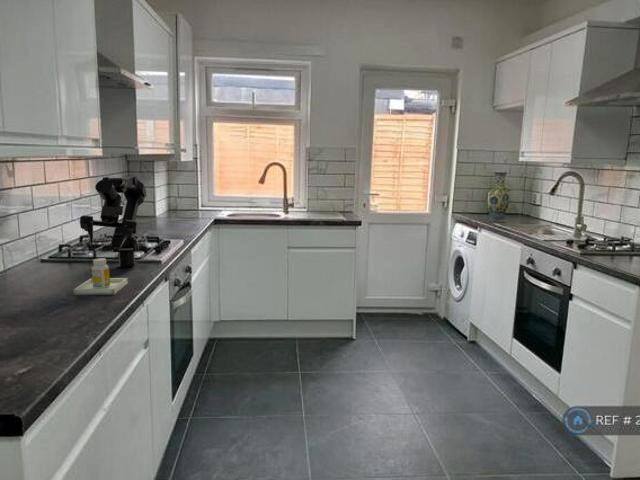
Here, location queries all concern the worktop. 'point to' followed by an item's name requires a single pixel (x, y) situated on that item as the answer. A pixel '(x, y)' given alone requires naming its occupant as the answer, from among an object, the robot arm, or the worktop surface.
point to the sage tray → (112, 289)
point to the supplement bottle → (100, 274)
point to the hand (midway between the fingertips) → (105, 245)
